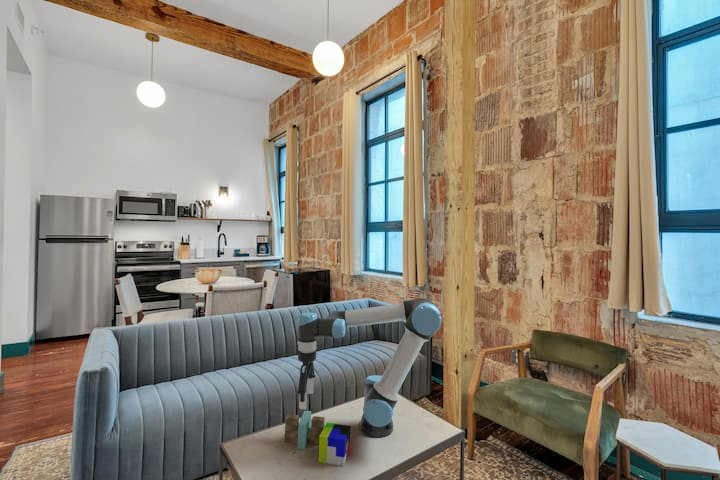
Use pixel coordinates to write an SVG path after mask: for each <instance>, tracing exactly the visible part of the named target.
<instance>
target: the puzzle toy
mask: <svg viewBox="0 0 720 480" xmlns="http://www.w3.org/2000/svg"><path fill="white" fill-rule="evenodd" d="M351 428H352V427H351V425H346V424H339V423H333V422H326V423H325V424H324V429H323V431H322V432H321V434H320V436H319V444H318V463H322V464H323V463H324V464H329V465H334V466H335V465H336V466H342V467H345V464H346V462H347V460H348V456H349V453H350V452H351V451H350V450H351V434H352V433H351V431H352V429H351Z"/></svg>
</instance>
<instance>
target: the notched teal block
mask: <svg viewBox="0 0 720 480" xmlns="http://www.w3.org/2000/svg"><path fill="white" fill-rule="evenodd" d="M311 420H312V410H303V413H302V415H301V417H300V419H299V424H298V443H297V449H298V450H306V447H307V432H308V429H309V428H311Z"/></svg>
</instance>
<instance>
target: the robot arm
mask: <svg viewBox="0 0 720 480" xmlns="http://www.w3.org/2000/svg"><path fill="white" fill-rule="evenodd" d="M441 315H442V314H441V312H440V309H438V307H437V306H436V305H435V304H434V303H433V302H432V301H431V300H429V299H428V298H413V299H408V300H402V301H401V302H400V303H397V304H387V305H380V306H372V307H364V308H357V309H348V310H342V311H341V310H337V309H335V310H332V311H330V313H329V314H328V315H327V317H326V318H320V317H318V314H317V313H315V312H308V311H307V312H302V313H300V315H299V316H298V325H297V326H298V329H297V330H298V333H297V334H298V341H297V342H296V344H297V346H298V347H297V349H298V351H297V360H298V361H299V362H302V364H301V366H300V368H299V369H300V372H299V381H298V382H299V383H298V389H297V391H296V392H297V393H296V394H298V395H299V403H298V409H299V410H307V394H309V395H310V394H311V395H312V394H314V379H315V378H316V375H315V365H314V362H315V361H316V359H317V338H335V339H337V338H344V337H345V334H346V329H347V328H354V327H362V326H370V325H372V326H373V325H378V324H387V323H395V322H404V325H403V326H404V334H403V336H402V338H401V339H400V341H399V343H398V345H397V347H396V349H395V351H394V353H393V355H392V356H391V359H390V360H389V362H388V364H387V365H386V368H385V369H384V372H383V374H382V375H369V376H367V377H366V378H365V382H364V401H363V407H362V408H363V409H362V412H363V413H362V416H361V418H360V422H359V429H360V431H361V432H362V433H363V434H365V435H367V436H369V437H372V438H384V437H387V436H390V435H391V434H393V431H394V421H393V416H394V414H393V413H394V409H395V407H396V404H397V403H398V401H399V399H400V398H399V392H400V389H401V387H402V386H403V384H404V381H405V379H406V377H407V376H408V374H409V372H410V370H411V368H412V367H413V364H414V362H415V361H416V358H417V357H418V355H419V353H420V352H421V349H422V347H423V345H424V344H425V342H429V341H430V340H431V338H432V336H433V335H434V334H436V333H437V332H438V331H439V330H440V328H441V326H442V316H441Z"/></svg>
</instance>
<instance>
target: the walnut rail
mask: <svg viewBox="0 0 720 480" xmlns="http://www.w3.org/2000/svg"><path fill="white" fill-rule="evenodd" d="M284 419H285V423H284V442H285V443H293V444H294V443H295V444H298V424H299V422H300V415H299V414H289V413H287V415H286V417H285V418H284ZM325 419H326V418H325V416H318V415H317V416H316V415H314V416H311V428H309V429H308V432H307V444H308V445H319V436H320V434H321V432H322V431H323V429H324V427H325Z"/></svg>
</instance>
